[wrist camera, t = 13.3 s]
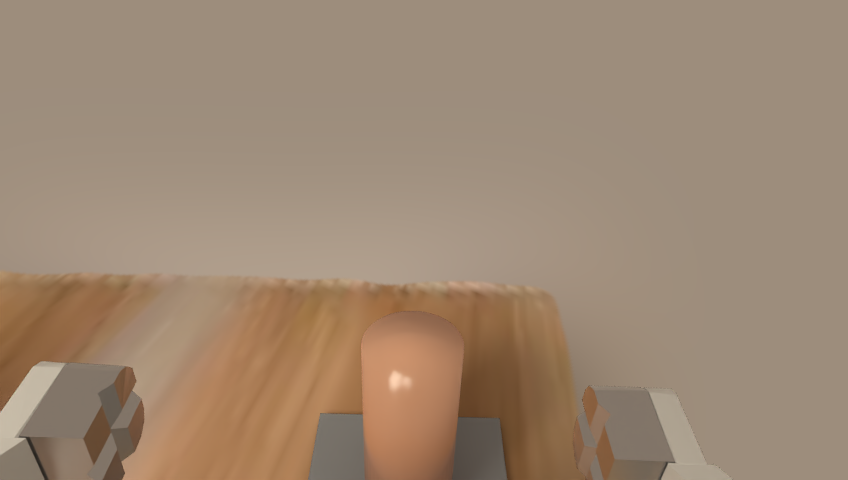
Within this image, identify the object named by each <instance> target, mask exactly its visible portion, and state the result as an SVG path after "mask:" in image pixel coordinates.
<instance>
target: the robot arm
mask: <svg viewBox="0 0 848 480" xmlns="http://www.w3.org/2000/svg"><path fill="white" fill-rule="evenodd" d="M135 383H136V378H135V375H134V372H133V369H132V368H130V367H127V366H113V365H98V364H84V363H62V362H47V361H41V362H40V363H38V364H36V365H35V366H33V367H32V368H31V370H30V371H29V373H28V374H27V375H26V377H25V378H24V380H23V381H22V383H21V384H20V385H19V387H18V388H17V390H16V391H15V392H14V394H13V395H12V397H11V398H10V399H9V401H8V402H7V404H6V405H5V406H4V408H3V409H2V411H1V412H0V480H122V479H123V476H124V474H125V472H124V469H123V466H122V463H121V461H123V460H124V459H125V458H127V457H128V456H129V455H131V454H132V453H133V452H135V450H136V447H137V445H138V443H139V440H140V438H141V434H142V429H143V424H144V407H143V403H142V399H141V398H140V397H139V396H138V395H136V394H135V393H134V392H133V391H132V389H133V387H134V385H135ZM582 401H583V405H584V409H585V411H584V412H583V413H581V414H580V415H579V416H577V419H576V423H575V427H574V440H573V446H574V455H575V460H576V465H577V468H578V470H579V471H580V472H581V473H582V474H583V475H584V476H585V477H586V480H733V479H732V478H731V477H730V476H728V475H727V474H726V473H725V472H724V471H723V470H721V469H720V468H719V467H718V466H717V465H709V464H707V462H706V460H705V457H704V455H703V453H702V451H701V448H700V446H699V444H698V441H697V439H696V437H695V435H694V432H693V430H692V428H691V426H690V423H689V421H688V419H687V417H686V415H685V412H684V410H683V408H682V405H681V403H680V401H679V399H678V396H677V394H676V393H675V392H674V391H673V390H672V389H668V388H667V389H666V388H641V387H615V386H614V387H613V386H588V387H587V389H586V390H585V393H584V396H583V399H582Z"/></svg>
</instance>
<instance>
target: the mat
mask: <svg viewBox="0 0 848 480" xmlns="http://www.w3.org/2000/svg"><path fill="white" fill-rule="evenodd" d="M308 480H365V474H364V437H363V415H362V414H324V413H320V418H319V424H318V429H317V435H316V440H315V446H314V451H313V456H312V462H311V467H310V473H309V478H308ZM452 480H507V475H506V467H505V459H504V451H503V443H502V435H501V427H500V418H475V417H458V422H457V433H456V443H455V454H454V465H453V476H452Z"/></svg>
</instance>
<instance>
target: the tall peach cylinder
mask: <svg viewBox="0 0 848 480" xmlns="http://www.w3.org/2000/svg"><path fill="white" fill-rule="evenodd" d="M463 357H464V341H463V338H462V336H461V334H460V332H459V331H458V330H457V328H456V327H455V326H454V325H453V324H451V323H450V322H449V321H447V320H445V319H444V318H442V317H439V316H437V315H434V314H431V313H427V312H421V311H403V312H397V313H393V314H389V315H387V316H384V317H382V318H380V319H378V320H377V321H375V322H374V323H373V324H371V325H370V326H369V327H368V329H367V330H366V331H365V333H364V335H363V337H362V341H361V362H362V399H363V437H364V474H365V480H452V476H453V465H454V454H455V443H456V433H457V422H458V411H459V400H460V389H461V379H462V368H463Z"/></svg>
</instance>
